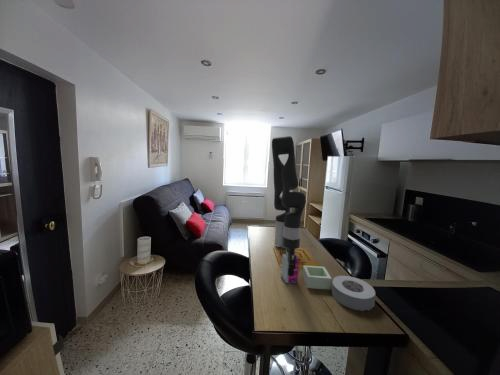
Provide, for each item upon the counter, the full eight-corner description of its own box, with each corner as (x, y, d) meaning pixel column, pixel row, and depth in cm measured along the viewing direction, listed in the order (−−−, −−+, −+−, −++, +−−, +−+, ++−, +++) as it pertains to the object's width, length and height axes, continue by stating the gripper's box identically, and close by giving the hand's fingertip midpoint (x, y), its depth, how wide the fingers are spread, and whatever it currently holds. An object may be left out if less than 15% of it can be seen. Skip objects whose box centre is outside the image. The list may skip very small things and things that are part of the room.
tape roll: (363, 317, 67) (364, 303, 66) (323, 294, 79) (324, 282, 79) (381, 301, 76) (382, 289, 76) (343, 282, 88) (344, 271, 88)
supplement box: (286, 284, 85) (287, 259, 84) (280, 277, 90) (281, 253, 89) (298, 282, 86) (299, 258, 85) (291, 275, 92) (293, 252, 91)
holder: (302, 275, 93) (303, 265, 92) (323, 276, 92) (324, 266, 92) (307, 287, 83) (307, 276, 82) (330, 289, 82) (331, 278, 82)
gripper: (281, 230, 94) (280, 263, 95) (284, 241, 80) (282, 279, 81) (297, 231, 93) (295, 264, 95) (303, 242, 79) (300, 280, 80)
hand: (289, 271), depth 88 cm, fingers closed on supplement box, 7 cm apart
